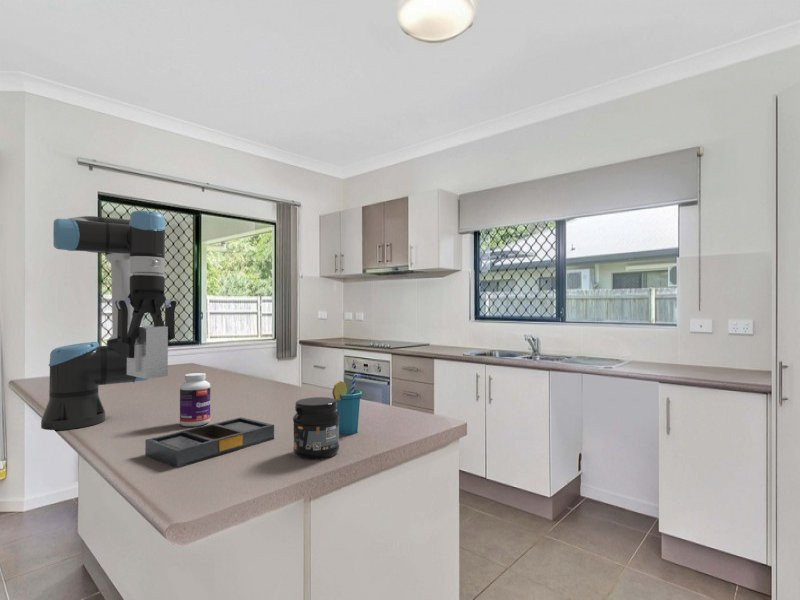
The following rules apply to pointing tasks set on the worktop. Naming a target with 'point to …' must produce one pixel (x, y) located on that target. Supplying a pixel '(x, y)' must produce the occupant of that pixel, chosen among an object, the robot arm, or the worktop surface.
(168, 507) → the worktop surface
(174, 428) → the worktop surface
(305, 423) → the supplement container
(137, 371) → the robot arm
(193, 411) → the pill bottle
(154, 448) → the rack
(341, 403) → the cup
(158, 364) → the grey rectangular block
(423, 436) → the worktop surface
